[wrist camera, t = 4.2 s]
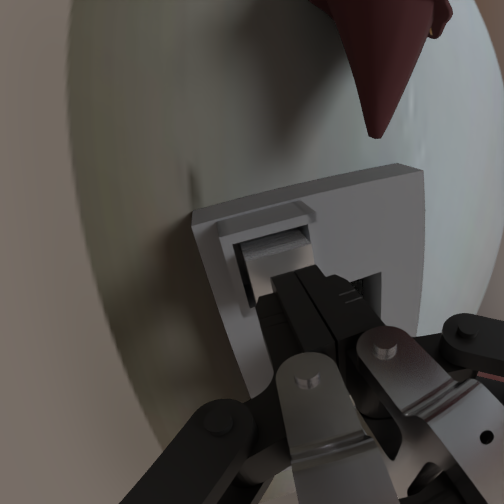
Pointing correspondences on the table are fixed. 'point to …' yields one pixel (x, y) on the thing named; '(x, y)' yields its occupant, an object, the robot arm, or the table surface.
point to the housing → (320, 249)
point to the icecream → (384, 47)
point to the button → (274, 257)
